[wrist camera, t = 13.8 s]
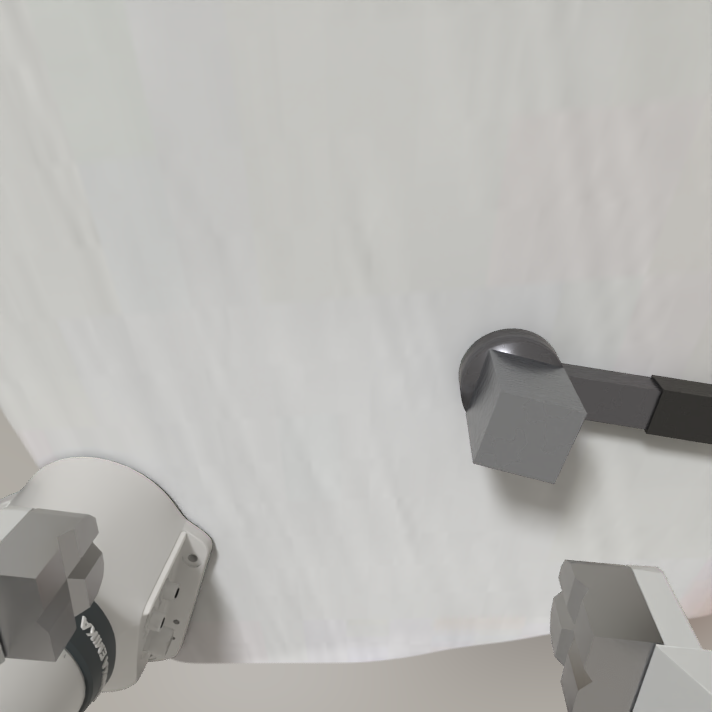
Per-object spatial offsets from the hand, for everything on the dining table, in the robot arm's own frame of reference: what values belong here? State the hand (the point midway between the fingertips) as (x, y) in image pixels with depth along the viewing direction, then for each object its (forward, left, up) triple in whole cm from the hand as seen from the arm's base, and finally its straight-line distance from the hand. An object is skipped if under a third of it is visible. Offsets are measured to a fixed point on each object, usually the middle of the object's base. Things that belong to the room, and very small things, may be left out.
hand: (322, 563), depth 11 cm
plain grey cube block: (-10, -10, -29) cm, 32 cm away
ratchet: (-10, -16, -31) cm, 36 cm away
